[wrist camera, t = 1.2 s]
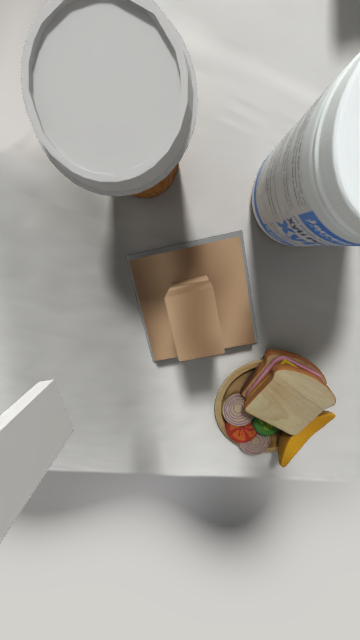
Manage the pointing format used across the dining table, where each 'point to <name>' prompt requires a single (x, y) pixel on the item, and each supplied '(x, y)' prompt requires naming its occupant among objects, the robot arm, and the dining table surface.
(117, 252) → the dining table surface
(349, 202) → the supplement tub
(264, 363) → the toy sandwich meal
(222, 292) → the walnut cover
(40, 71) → the disposable coffee cup
